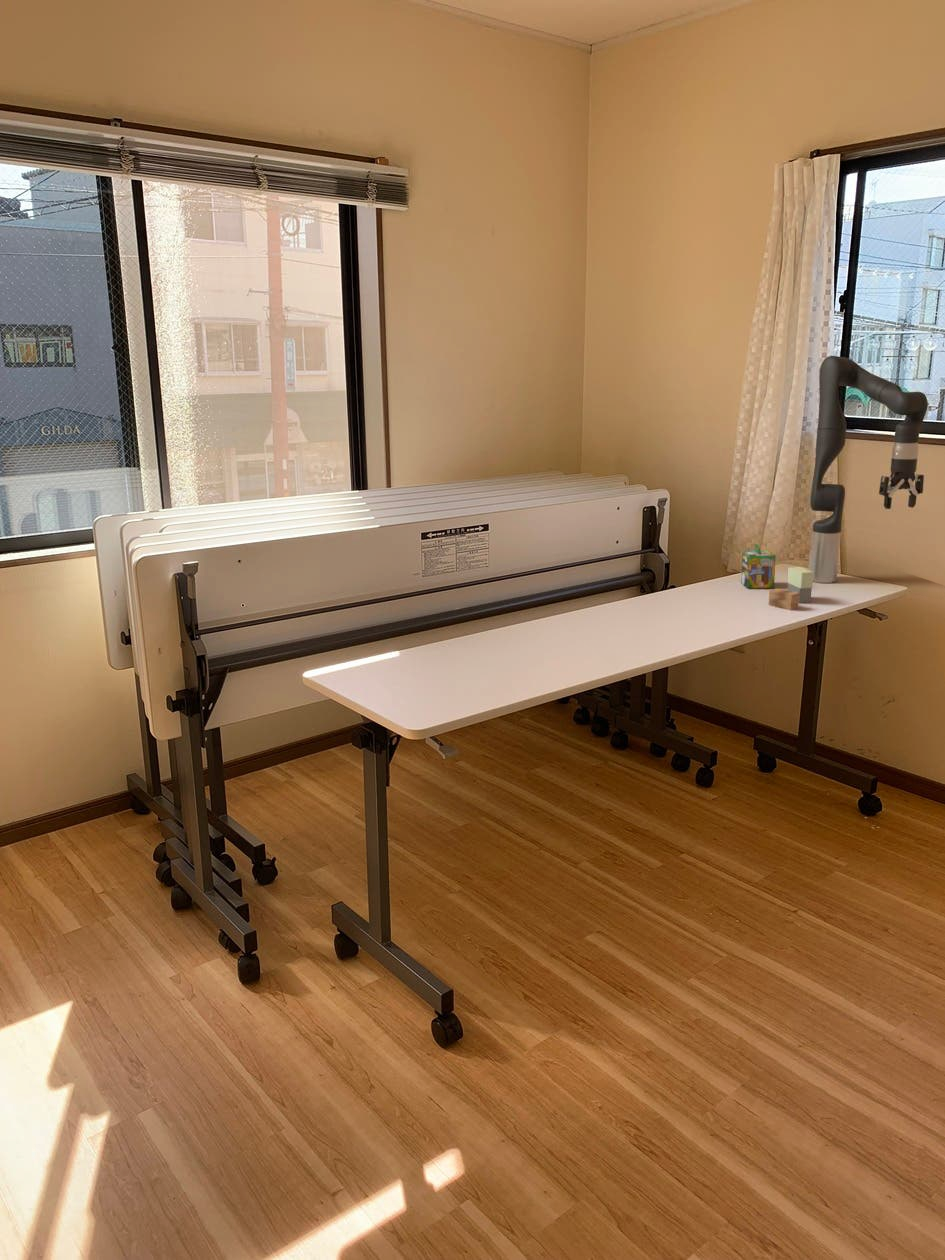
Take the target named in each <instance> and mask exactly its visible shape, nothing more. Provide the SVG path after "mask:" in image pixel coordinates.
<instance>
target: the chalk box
mask: <svg viewBox="0 0 945 1260" xmlns="http://www.w3.org/2000/svg"><path fill="white" fill-rule="evenodd" d="M754 548H755V550H743V551H742V558H741V559H742V560H741V561H742V563H741V577H740V579H741V581H740V583H741V584H742V586H744V587H745V588H746V589H747V590H753V589H754V590H755V589H775V578H776V577H775V576H776V557H777V555H776V554H774V553H773V552H771V551H770V550H761V549H760V545H759V543H757V542H756V541H755V542H754Z"/></svg>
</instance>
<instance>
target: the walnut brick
mask: <svg viewBox="0 0 945 1260" xmlns="http://www.w3.org/2000/svg"><path fill="white" fill-rule="evenodd" d="M768 593H769V594H768V595H769V596H768V606H769V605H770V606H769V607H773V606H774V608H778V609H783V610H787V611H793V609H794V610H797V609H799V604H800V603H799V593H797V592H792V591H788V589H783V588H772V589H771V590H769V592H768ZM796 608H797V609H796Z"/></svg>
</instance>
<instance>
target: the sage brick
mask: <svg viewBox="0 0 945 1260" xmlns="http://www.w3.org/2000/svg"><path fill="white" fill-rule="evenodd" d="M787 573H788V574H787V584H788V583H789V584H792V585H794V586H796V587H799V588H812V589H813V583H814V582H813V573H814V572H812V571H809V570H808V569H806V568H804V567H802V566H793V567H788V571H787Z"/></svg>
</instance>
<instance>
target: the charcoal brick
mask: <svg viewBox="0 0 945 1260" xmlns="http://www.w3.org/2000/svg"><path fill="white" fill-rule="evenodd" d="M812 589H813V587H812V588H799V587H796V586H794V585H792V584H789V583H788V582H787V591H792V592H797V593H799V603H798V604H810V603H811V601H812V600H811V599H812Z"/></svg>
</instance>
